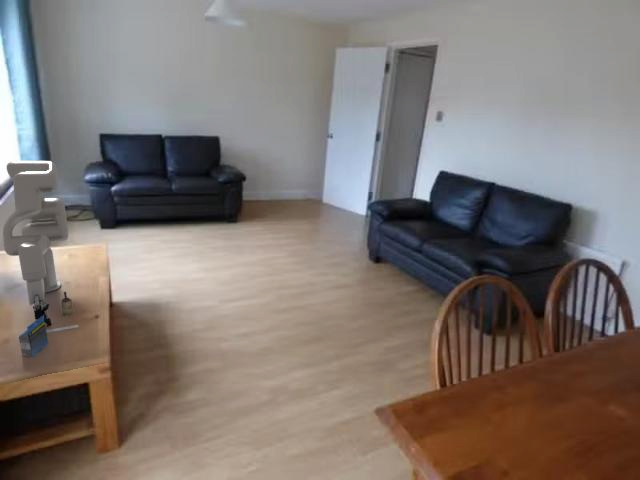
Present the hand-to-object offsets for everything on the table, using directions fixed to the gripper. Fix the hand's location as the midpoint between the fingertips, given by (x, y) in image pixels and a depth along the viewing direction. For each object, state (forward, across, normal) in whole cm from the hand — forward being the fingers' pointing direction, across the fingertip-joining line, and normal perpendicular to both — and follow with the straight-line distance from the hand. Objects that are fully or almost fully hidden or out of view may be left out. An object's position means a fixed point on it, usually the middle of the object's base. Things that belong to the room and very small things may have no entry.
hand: (40, 312), depth 164 cm
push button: (+6, +1, 0) cm, 6 cm away
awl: (+6, -6, +9) cm, 13 cm away
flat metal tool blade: (+6, +6, +6) cm, 10 cm away
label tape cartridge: (+6, +18, -2) cm, 19 cm away
